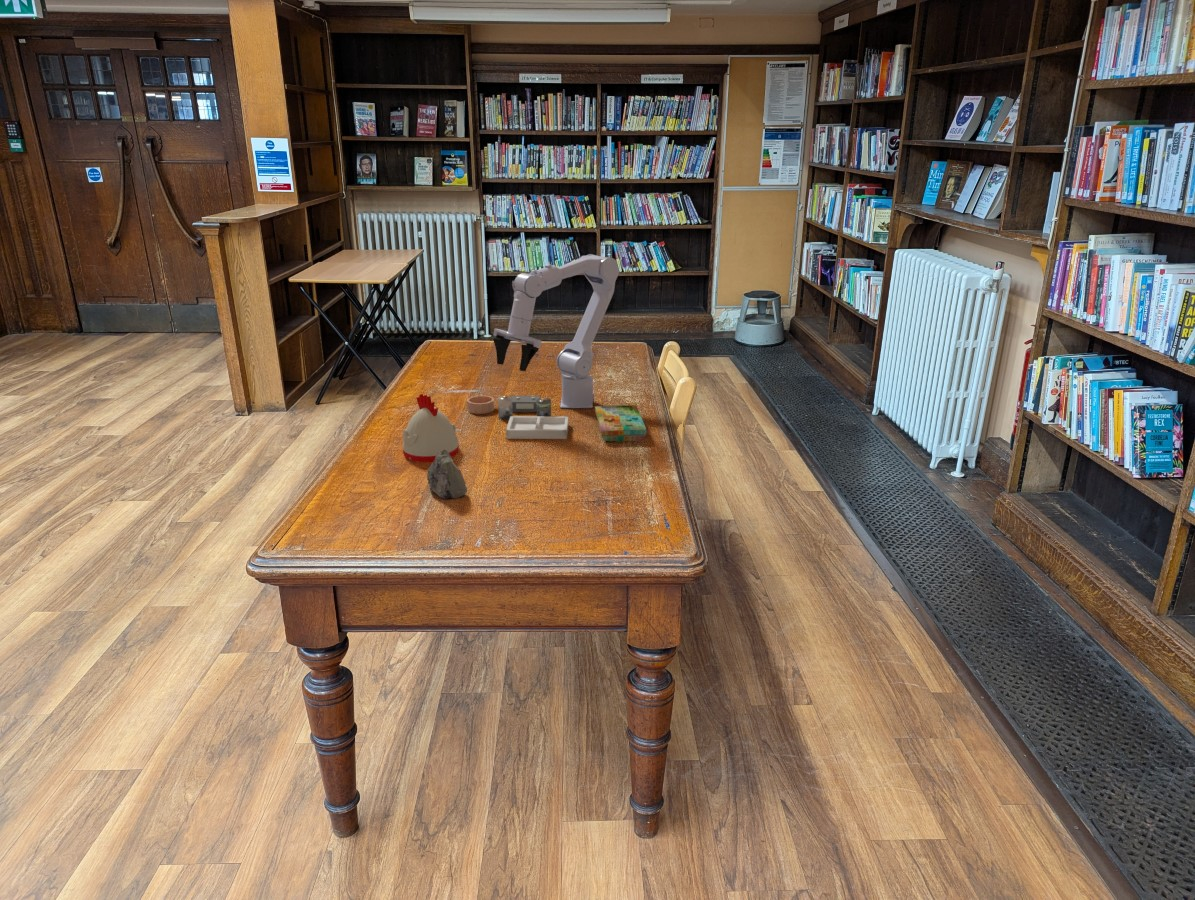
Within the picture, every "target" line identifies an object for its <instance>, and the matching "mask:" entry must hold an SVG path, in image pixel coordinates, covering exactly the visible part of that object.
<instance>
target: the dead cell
mask: <svg viewBox="0 0 1195 900" xmlns="http://www.w3.org/2000/svg"><path fill="white" fill-rule="evenodd" d="M512 397H513V396H512V395H506V394H505V395H500V396H498V397H497V410H498V411H497V412H498V419H499V420H500V419H501V421H509V419H510V416H514V412H513V408H512Z"/></svg>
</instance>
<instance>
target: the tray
mask: <svg viewBox="0 0 1195 900" xmlns="http://www.w3.org/2000/svg"><path fill="white" fill-rule="evenodd" d="M507 422H508V423H507V425H506V429H505V439H508V440H510V439H511V440H514V439H515V440H518V439H519V440H521V439H522V440H530V439H531V440H535V439H536V440H537V439H538V440H567V439H568V432H569V416H560V415H559V416H556V415H555V416H552V415H551V416H537V415H536V416H534V415H533V416H532V415H530V416H528V415H524V416H523V415H522V416H521V415H519V416H518V415H513V416H510V419H509V420H508V421H507Z"/></svg>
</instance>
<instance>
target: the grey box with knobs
mask: <svg viewBox="0 0 1195 900" xmlns="http://www.w3.org/2000/svg"><path fill="white" fill-rule="evenodd" d="M511 397H512V408H513V413H537V406H536V400H537V399H539V398H541V395H512V396H511Z"/></svg>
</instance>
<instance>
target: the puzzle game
mask: <svg viewBox="0 0 1195 900" xmlns="http://www.w3.org/2000/svg"><path fill="white" fill-rule="evenodd" d="M594 412H595V416H596V418H597V419H596V420H597V424H598V427H599V430H600V434H601V437H602V439H603V440H604V442H606V441H616V442H641V441H642V440H643V439H644V438H645V437H646V435H647V427H646V425H645V423H644V421H643V417H642V415H641V413H640V411H639V408H638V406H637V404H626V405H625V404H624V405H619V404H618V405H595V406H594ZM633 440H634V441H633ZM637 440H638V441H637ZM640 440H641V441H640Z"/></svg>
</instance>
